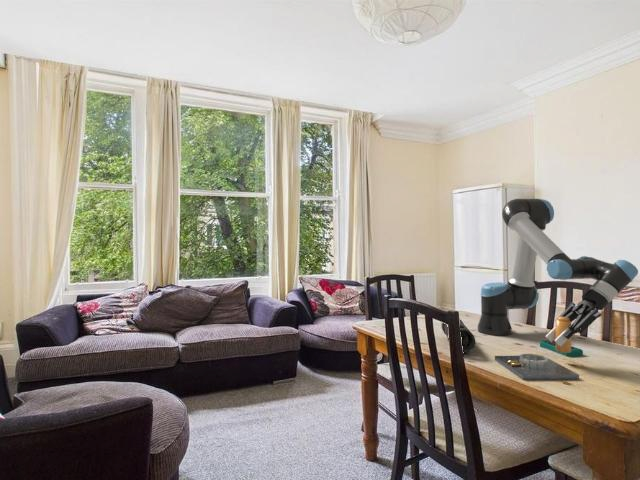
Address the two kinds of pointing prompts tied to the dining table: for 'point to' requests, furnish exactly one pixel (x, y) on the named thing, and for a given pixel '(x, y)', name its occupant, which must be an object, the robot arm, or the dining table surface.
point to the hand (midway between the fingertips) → (553, 341)
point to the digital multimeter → (551, 346)
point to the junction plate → (537, 373)
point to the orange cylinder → (560, 327)
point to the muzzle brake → (463, 336)
